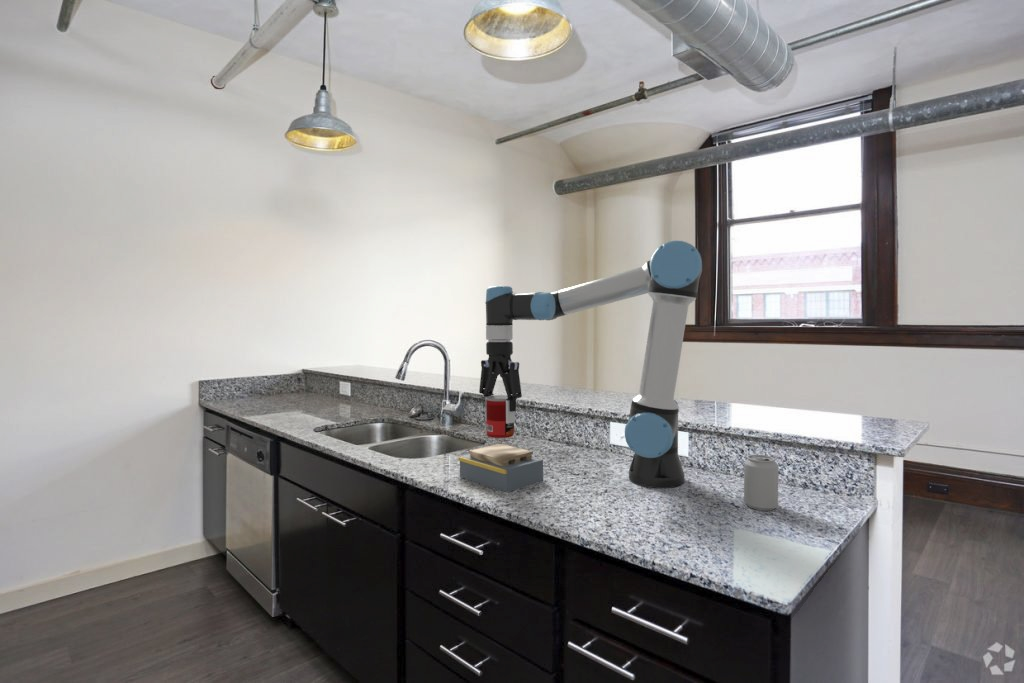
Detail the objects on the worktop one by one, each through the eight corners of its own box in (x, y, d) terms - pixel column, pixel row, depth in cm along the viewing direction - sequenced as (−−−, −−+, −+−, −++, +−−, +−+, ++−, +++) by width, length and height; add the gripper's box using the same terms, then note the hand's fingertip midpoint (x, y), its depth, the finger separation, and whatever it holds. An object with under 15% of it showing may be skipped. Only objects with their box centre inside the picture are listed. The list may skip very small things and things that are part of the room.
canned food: (511, 438, 147) (511, 399, 147) (483, 437, 149) (482, 398, 149) (516, 433, 155) (516, 395, 154) (489, 432, 156) (489, 394, 156)
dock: (543, 480, 150) (543, 459, 150) (505, 492, 140) (504, 470, 140) (495, 467, 164) (495, 448, 164) (458, 477, 154) (458, 456, 154)
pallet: (532, 458, 151) (532, 451, 151) (501, 466, 143) (501, 459, 143) (499, 450, 161) (499, 443, 161) (468, 457, 153) (468, 450, 153)
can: (776, 514, 123) (776, 462, 122) (741, 508, 127) (741, 458, 126) (779, 504, 129) (780, 455, 129) (746, 499, 133) (746, 451, 133)
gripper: (535, 341, 146) (535, 423, 147) (485, 339, 161) (486, 414, 162) (515, 342, 141) (515, 427, 142) (466, 340, 156) (466, 417, 157)
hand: (500, 420), depth 152 cm, fingers closed on canned food, 8 cm apart
